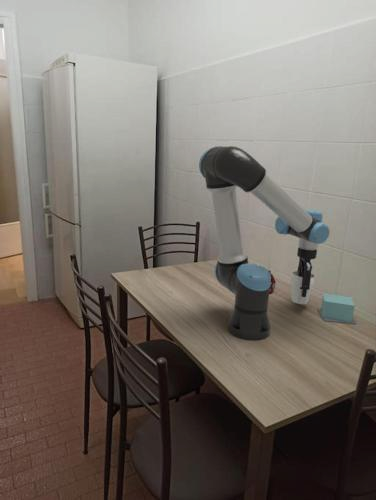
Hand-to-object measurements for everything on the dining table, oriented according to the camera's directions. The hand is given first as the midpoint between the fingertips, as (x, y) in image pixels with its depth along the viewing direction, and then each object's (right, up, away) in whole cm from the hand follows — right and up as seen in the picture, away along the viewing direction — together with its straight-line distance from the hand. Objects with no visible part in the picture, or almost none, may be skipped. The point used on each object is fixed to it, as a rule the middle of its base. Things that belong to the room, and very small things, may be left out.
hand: (299, 299), depth 154 cm
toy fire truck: (-13, +1, +17) cm, 21 cm away
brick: (+12, -6, -7) cm, 15 cm away
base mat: (+12, -6, -7) cm, 15 cm away
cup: (0, -1, 0) cm, 1 cm away
